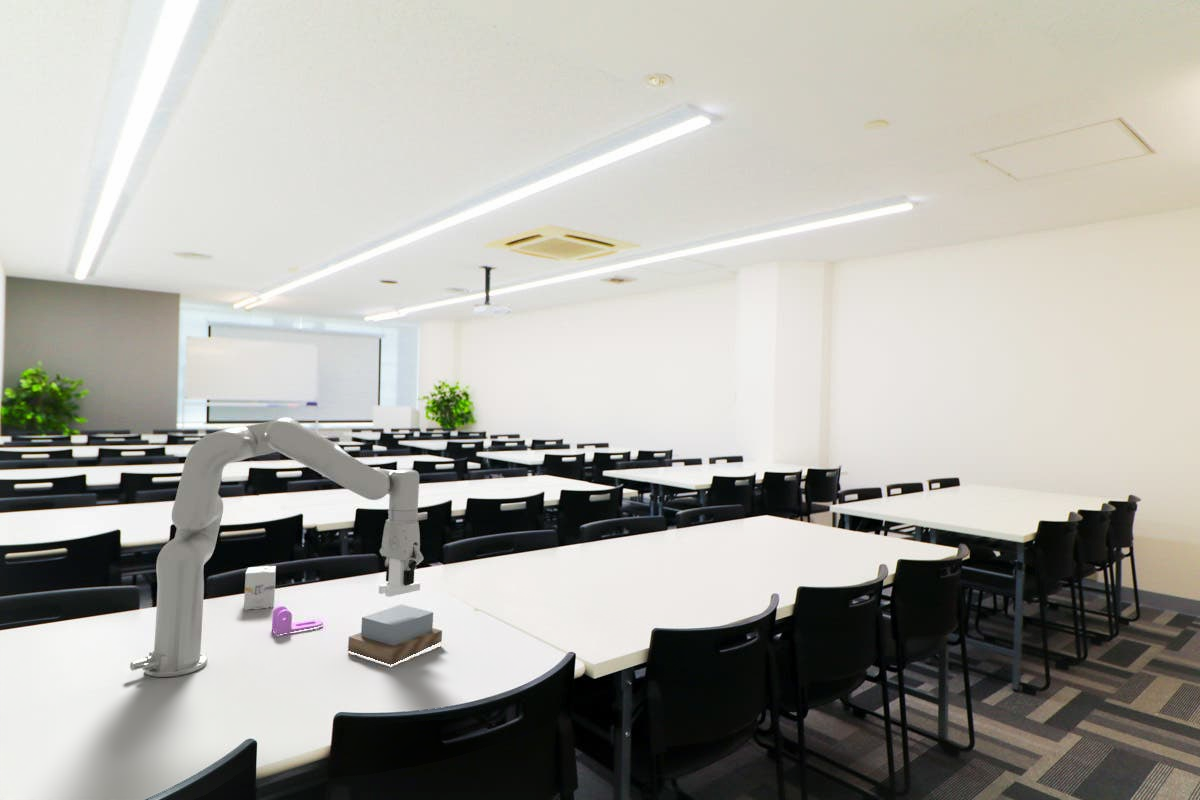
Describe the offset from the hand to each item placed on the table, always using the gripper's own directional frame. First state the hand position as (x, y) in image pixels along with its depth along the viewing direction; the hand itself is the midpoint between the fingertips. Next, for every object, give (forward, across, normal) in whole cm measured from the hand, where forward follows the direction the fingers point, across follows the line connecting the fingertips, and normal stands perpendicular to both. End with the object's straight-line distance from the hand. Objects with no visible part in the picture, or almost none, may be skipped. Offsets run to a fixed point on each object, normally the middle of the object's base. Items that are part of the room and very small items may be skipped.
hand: (399, 581), depth 172 cm
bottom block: (+19, 0, 0) cm, 19 cm away
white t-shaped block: (+3, 0, 0) cm, 3 cm away
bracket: (+19, -34, -5) cm, 39 cm away
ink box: (+19, -63, +2) cm, 66 cm away
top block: (+14, 0, 0) cm, 14 cm away
